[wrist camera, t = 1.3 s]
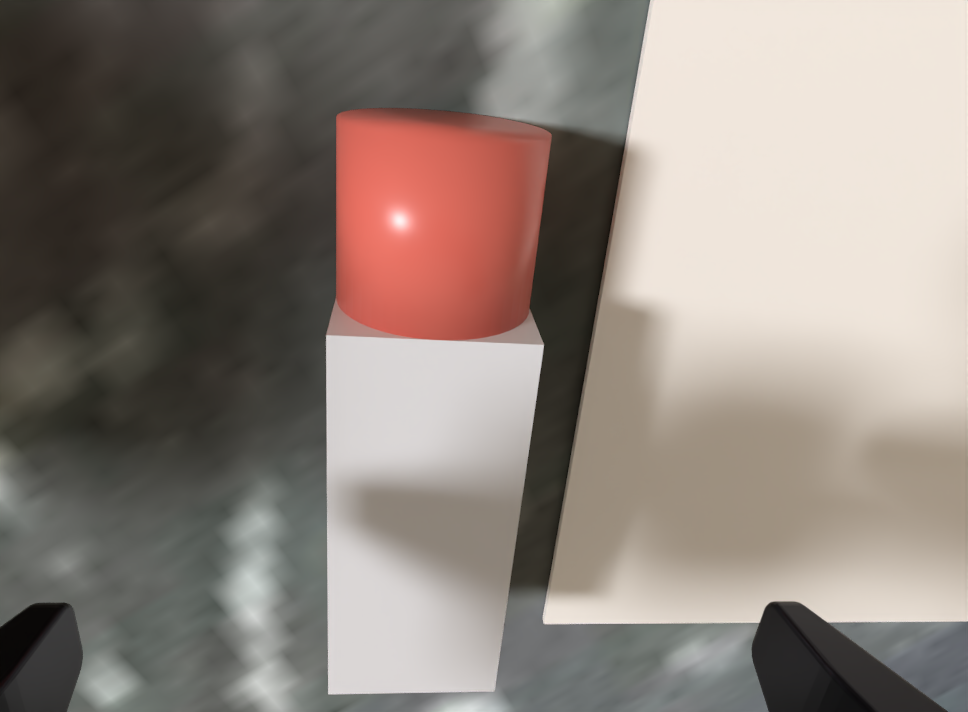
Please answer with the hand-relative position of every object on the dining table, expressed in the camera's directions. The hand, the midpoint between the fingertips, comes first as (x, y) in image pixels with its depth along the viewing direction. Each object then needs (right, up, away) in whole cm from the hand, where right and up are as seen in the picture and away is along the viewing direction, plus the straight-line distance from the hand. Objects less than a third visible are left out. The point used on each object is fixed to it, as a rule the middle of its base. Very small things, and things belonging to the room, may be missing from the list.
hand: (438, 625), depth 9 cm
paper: (+9, +4, +6) cm, 12 cm away
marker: (-1, +3, +6) cm, 7 cm away
